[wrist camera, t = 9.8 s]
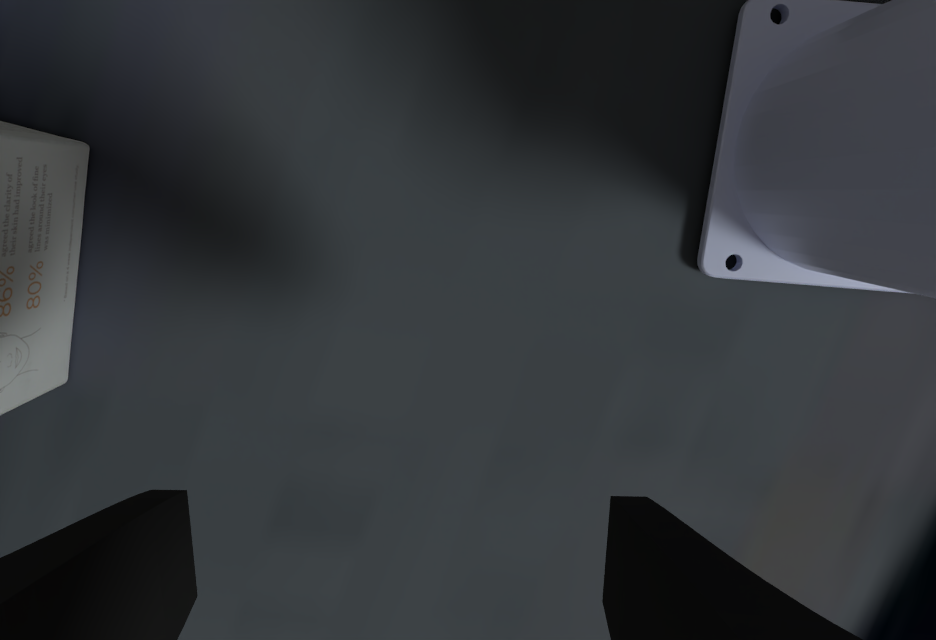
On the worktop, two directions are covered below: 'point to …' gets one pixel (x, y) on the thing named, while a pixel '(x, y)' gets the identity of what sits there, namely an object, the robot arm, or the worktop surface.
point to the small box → (38, 258)
